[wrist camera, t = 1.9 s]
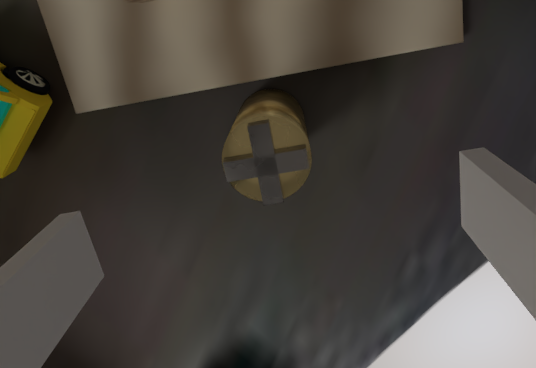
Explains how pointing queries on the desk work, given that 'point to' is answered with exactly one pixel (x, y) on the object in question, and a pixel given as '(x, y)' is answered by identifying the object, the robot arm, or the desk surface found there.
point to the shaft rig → (227, 41)
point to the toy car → (20, 113)
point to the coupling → (267, 147)
